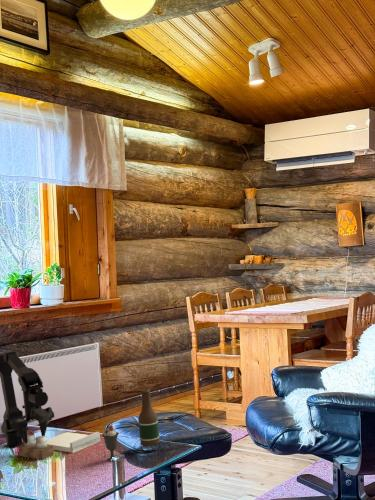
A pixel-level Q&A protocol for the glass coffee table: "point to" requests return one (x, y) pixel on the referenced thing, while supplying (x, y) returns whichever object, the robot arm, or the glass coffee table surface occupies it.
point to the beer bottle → (148, 421)
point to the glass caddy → (36, 448)
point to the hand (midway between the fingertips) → (34, 440)
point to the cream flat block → (73, 441)
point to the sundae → (110, 440)
